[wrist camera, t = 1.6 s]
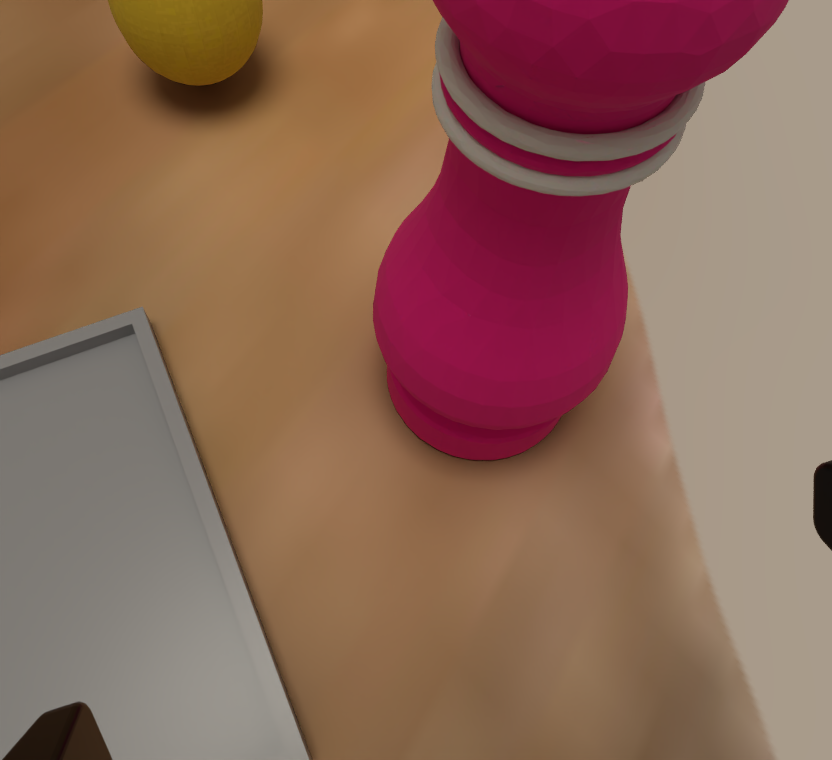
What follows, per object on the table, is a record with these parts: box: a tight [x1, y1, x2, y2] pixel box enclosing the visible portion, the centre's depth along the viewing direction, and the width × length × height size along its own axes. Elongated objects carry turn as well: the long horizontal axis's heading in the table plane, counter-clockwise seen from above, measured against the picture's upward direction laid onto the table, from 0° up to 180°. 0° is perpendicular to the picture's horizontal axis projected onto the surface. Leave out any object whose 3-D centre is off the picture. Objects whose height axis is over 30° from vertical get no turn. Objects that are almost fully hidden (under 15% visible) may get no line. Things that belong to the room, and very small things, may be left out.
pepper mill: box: [373, 0, 788, 460], centre depth 17 cm, size 7×7×20 cm
